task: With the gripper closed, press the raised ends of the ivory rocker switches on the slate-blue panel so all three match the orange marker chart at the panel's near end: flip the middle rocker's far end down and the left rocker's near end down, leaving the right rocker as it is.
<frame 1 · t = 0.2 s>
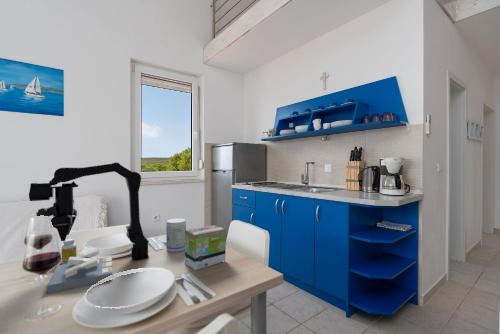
hand: (65, 237, 98), 14 cm above the table, tool pointing down, fingers open, 9 cm apart
rocker B: (83, 261, 95), point 6 cm above the table, hinge at -16.0°
rocker A: (85, 256, 100), point 6 cm above the table, hinge at 16.0°
rocker C: (82, 266, 90), point 6 cm above the table, hinge at 16.0°
switch panel: (83, 275, 95), on the table
tea box: (205, 263, 107), on the table
supplement tub: (176, 249, 124), on the table
supplement bottle: (69, 262, 109), on the table
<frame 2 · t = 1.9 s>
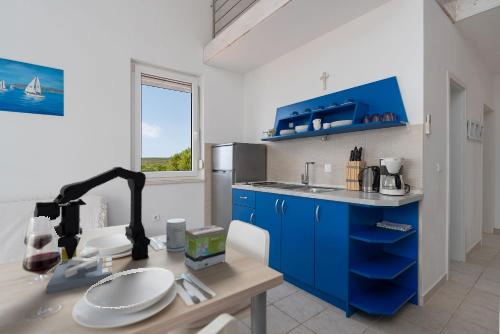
hand: (70, 259, 93), 7 cm above the table, tool pointing down, fingers closed, pressing on rocker B
rocker B: (83, 261, 95), point 6 cm above the table, hinge at -13.9°, touching gripper
everything else where it was.
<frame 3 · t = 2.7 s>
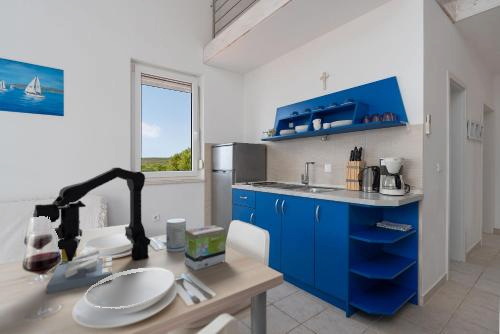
hand: (70, 261, 93), 7 cm above the table, tool pointing down, fingers closed
rocker B: (83, 261, 95), point 6 cm above the table, hinge at 7.0°
everything else where it was.
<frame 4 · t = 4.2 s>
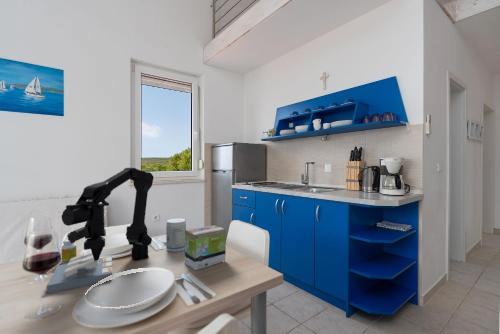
hand: (96, 260, 92), 7 cm above the table, tool pointing down, fingers closed, pressing on rocker C
rocker B: (83, 261, 95), point 6 cm above the table, hinge at 10.8°
rocker C: (82, 266, 90), point 6 cm above the table, hinge at 11.5°, touching gripper
everything else where it was.
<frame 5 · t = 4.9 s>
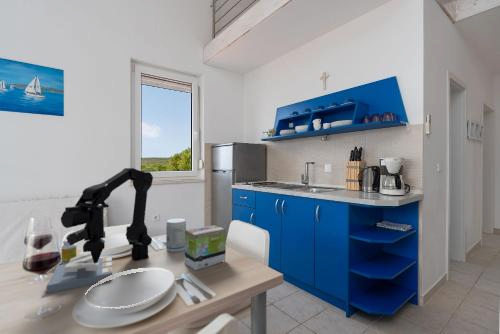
hand: (95, 262, 92), 6 cm above the table, tool pointing down, fingers closed
rocker C: (82, 266, 90), point 6 cm above the table, hinge at -8.5°
everything else where it was.
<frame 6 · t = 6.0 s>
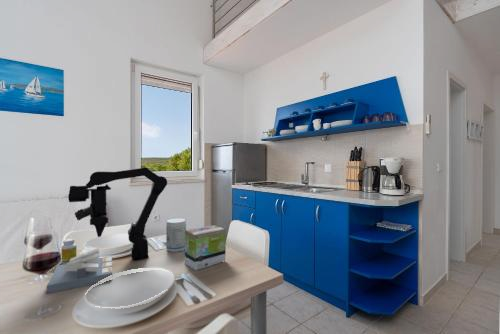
hand: (99, 236, 106), 12 cm above the table, tool pointing down, fingers closed
rocker C: (82, 266, 90), point 6 cm above the table, hinge at -13.4°
everything else where it was.
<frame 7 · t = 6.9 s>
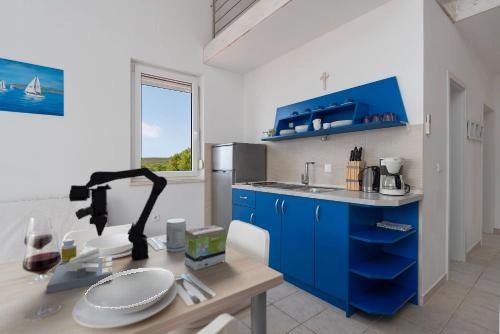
hand: (99, 235, 107), 12 cm above the table, tool pointing down, fingers closed
rocker C: (82, 266, 90), point 6 cm above the table, hinge at -13.8°
everything else where it was.
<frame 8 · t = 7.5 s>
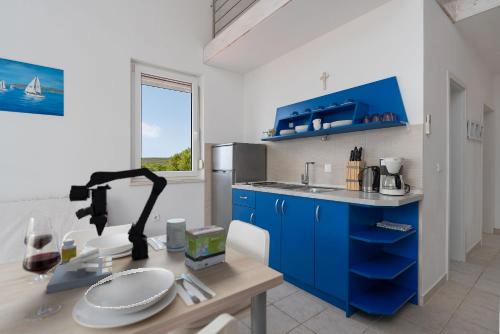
hand: (99, 235, 107), 12 cm above the table, tool pointing down, fingers closed
nothing on the table moved.
at the end: rocker B at +11° (first picture: -16°); rocker C at -14° (first picture: +16°); rocker A at +16° (first picture: +16°) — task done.
